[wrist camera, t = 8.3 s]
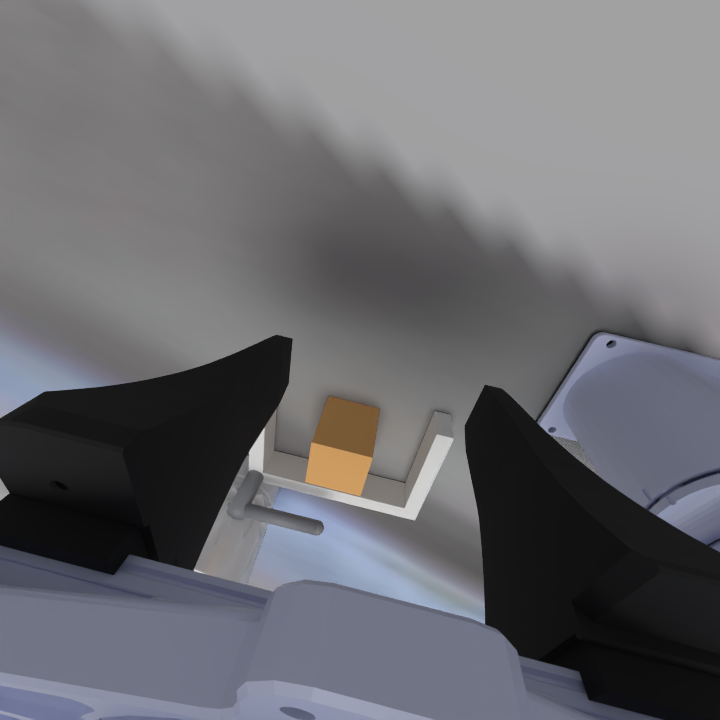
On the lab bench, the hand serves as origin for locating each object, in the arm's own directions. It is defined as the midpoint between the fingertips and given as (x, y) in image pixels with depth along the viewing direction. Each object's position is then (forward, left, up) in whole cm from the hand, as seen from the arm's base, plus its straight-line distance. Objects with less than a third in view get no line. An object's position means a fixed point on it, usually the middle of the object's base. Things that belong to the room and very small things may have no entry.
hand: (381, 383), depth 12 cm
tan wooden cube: (+1, +11, -10) cm, 14 cm away
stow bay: (+1, +12, -9) cm, 15 cm away
